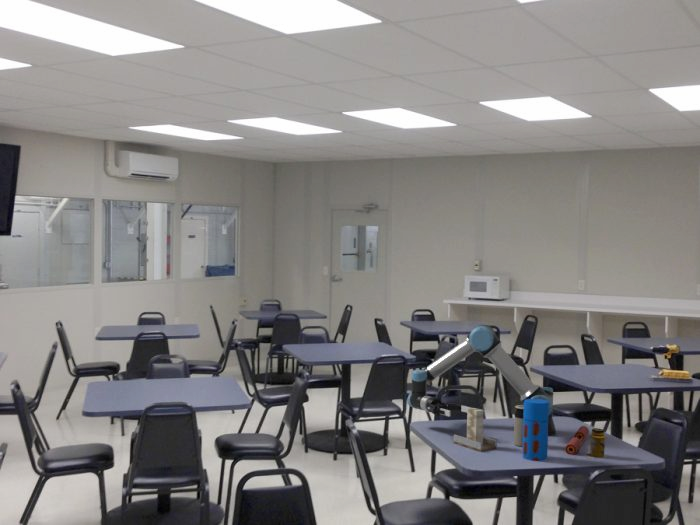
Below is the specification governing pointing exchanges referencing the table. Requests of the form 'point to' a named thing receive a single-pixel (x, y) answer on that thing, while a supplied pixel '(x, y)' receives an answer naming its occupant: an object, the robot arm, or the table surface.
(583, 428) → the blood vessel
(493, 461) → the table surface
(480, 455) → the table surface
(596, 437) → the condiment
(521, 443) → the travel mug
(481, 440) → the pale wooden block
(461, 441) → the floor track
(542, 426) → the thermos
